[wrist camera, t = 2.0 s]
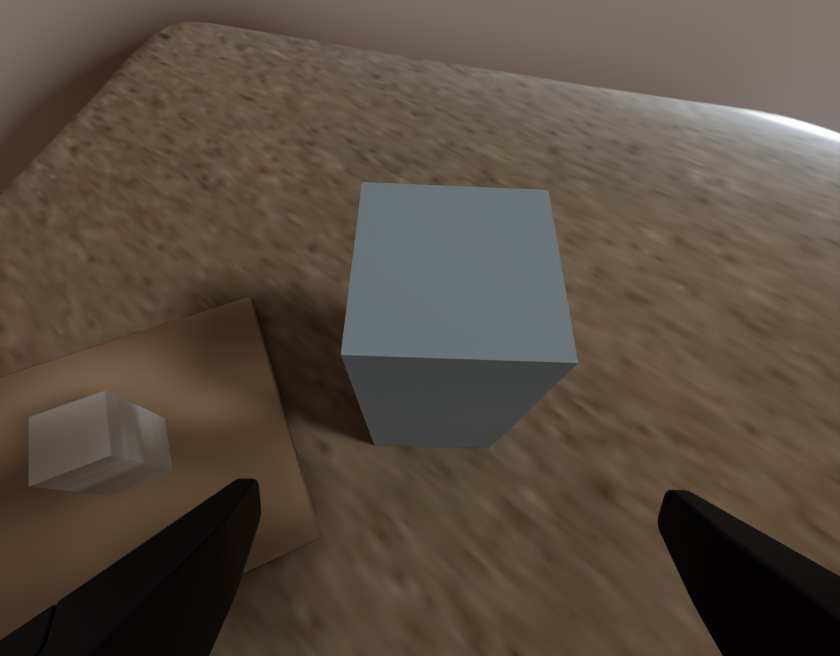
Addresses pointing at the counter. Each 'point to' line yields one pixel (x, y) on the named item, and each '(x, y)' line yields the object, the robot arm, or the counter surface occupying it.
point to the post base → (202, 441)
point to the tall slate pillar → (454, 312)
